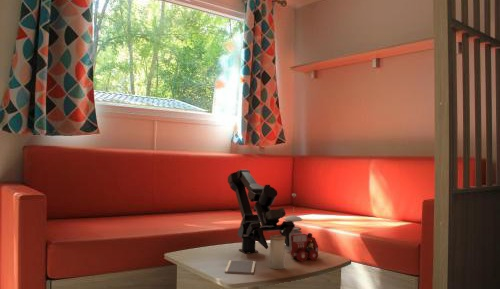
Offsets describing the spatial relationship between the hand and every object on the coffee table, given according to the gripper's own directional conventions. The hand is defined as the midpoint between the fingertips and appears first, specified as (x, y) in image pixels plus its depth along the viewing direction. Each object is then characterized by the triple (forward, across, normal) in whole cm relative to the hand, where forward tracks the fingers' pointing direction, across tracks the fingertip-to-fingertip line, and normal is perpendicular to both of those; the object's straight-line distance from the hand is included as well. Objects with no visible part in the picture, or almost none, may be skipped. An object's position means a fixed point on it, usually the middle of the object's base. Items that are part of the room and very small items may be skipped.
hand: (278, 247), depth 160 cm
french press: (-10, +20, +21) cm, 30 cm away
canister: (+5, 0, +6) cm, 8 cm away
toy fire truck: (0, +17, +11) cm, 20 cm away
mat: (+2, -13, +9) cm, 16 cm away
